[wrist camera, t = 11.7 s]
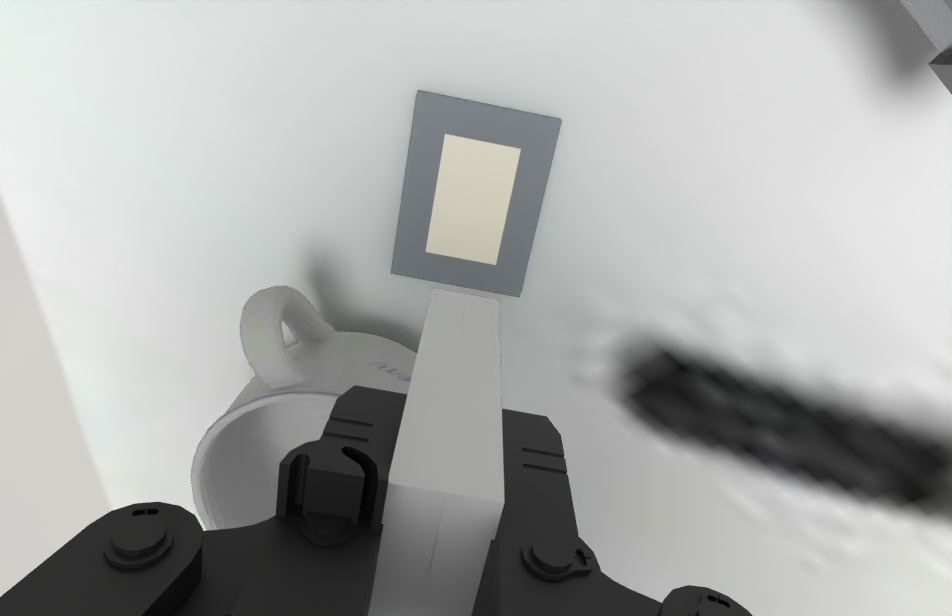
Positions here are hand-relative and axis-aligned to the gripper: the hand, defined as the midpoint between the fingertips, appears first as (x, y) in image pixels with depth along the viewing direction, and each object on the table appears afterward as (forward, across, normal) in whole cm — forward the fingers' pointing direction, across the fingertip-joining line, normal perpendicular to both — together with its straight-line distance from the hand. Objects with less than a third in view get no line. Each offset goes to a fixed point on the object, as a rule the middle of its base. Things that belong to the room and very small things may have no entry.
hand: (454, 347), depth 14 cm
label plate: (+14, 0, 0) cm, 14 cm away
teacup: (+15, +4, +10) cm, 18 cm away
